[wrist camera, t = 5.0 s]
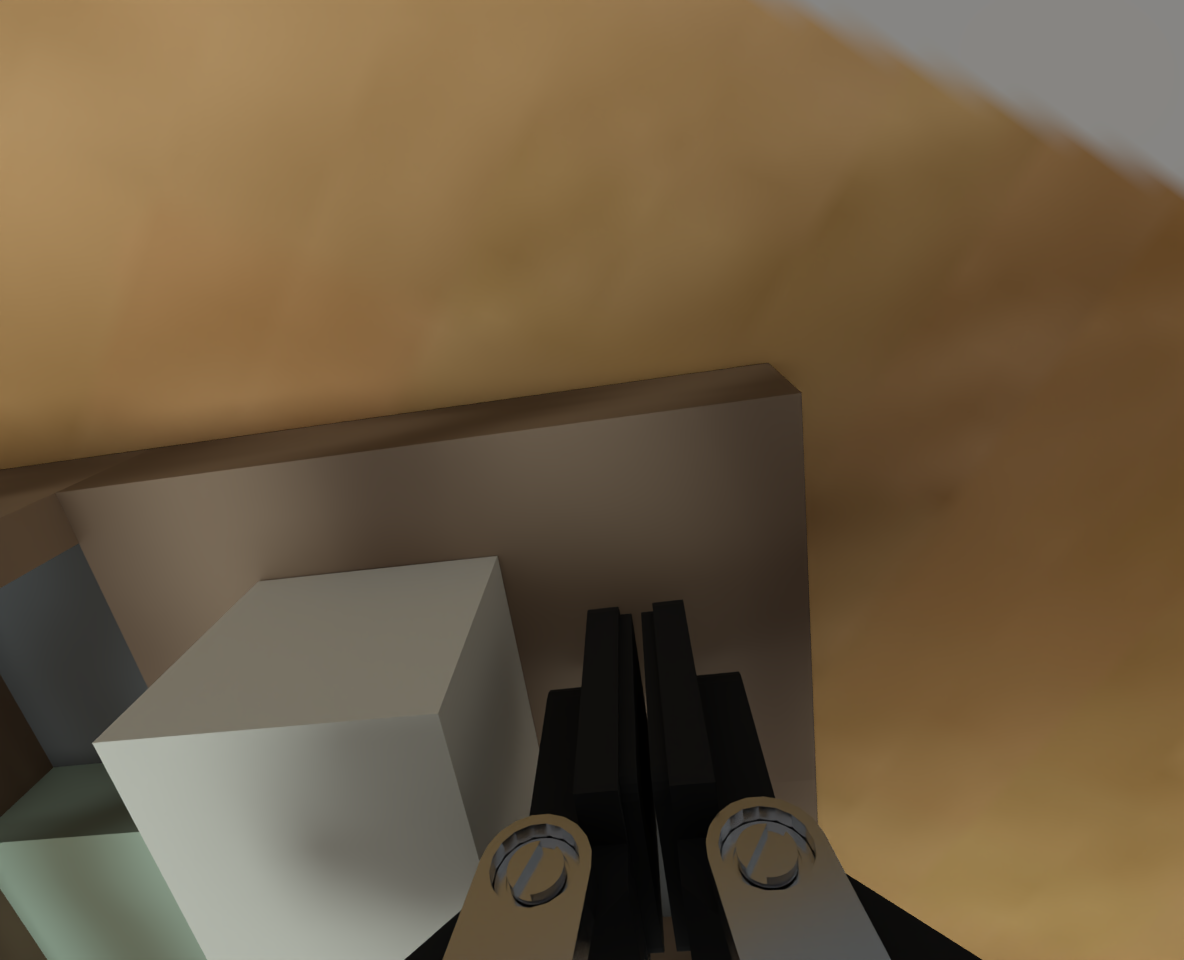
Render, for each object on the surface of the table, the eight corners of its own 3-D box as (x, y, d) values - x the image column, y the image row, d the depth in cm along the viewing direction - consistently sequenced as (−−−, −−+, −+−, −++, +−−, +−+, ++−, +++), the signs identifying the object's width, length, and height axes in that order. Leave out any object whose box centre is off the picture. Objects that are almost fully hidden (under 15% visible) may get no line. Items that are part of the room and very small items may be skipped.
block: (497, 556, 11) (437, 713, 8) (540, 752, 13) (507, 961, 9) (257, 581, 12) (91, 742, 8) (327, 769, 13) (215, 976, 10)
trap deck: (768, 363, 13) (840, 428, 8) (799, 926, 18) (852, 1136, 14) (-138, 488, 14) (-448, 593, 10) (143, 963, 20) (15, 1157, 16)
